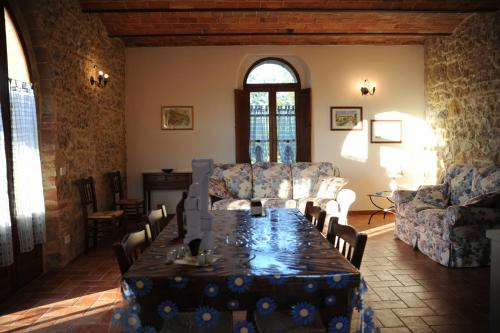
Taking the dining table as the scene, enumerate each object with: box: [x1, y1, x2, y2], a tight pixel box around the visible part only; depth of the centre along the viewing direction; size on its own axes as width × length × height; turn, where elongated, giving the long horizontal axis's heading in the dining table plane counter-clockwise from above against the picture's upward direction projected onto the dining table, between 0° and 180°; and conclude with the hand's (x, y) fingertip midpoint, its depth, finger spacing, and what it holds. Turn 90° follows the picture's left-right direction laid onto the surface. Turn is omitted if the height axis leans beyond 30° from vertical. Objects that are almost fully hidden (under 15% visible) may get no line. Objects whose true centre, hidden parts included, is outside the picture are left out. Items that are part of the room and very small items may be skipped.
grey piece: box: [166, 246, 214, 266], centre depth 173 cm, size 12×20×4 cm, turn 69°
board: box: [165, 252, 224, 267], centre depth 176 cm, size 16×20×1 cm
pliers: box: [239, 253, 257, 269], centre depth 175 cm, size 10×1×20 cm
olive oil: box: [175, 190, 189, 239], centre depth 224 cm, size 11×11×25 cm
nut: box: [194, 248, 205, 258], centre depth 179 cm, size 4×5×3 cm
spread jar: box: [249, 197, 268, 217], centre depth 284 cm, size 12×11×12 cm
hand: (194, 256), depth 176 cm, fingers closed
